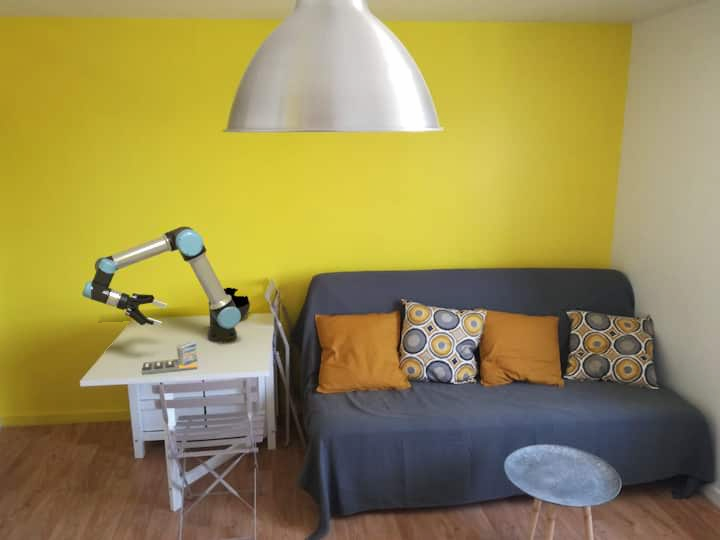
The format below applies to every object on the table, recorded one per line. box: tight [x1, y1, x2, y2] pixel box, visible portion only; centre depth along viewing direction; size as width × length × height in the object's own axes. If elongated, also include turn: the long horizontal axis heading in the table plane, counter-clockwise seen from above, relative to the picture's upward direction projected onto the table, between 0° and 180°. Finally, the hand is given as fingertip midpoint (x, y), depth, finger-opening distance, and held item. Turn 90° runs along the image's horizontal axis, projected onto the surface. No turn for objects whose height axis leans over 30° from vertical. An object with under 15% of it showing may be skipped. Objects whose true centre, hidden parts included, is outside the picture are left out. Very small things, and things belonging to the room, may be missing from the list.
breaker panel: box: [141, 358, 198, 376], centre depth 285 cm, size 24×13×3 cm, turn 106°
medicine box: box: [176, 341, 198, 366], centre depth 286 cm, size 8×4×9 cm, turn 145°
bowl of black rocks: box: [223, 286, 251, 320], centre depth 350 cm, size 20×20×19 cm
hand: (163, 315), depth 290 cm, fingers open, 13 cm apart
